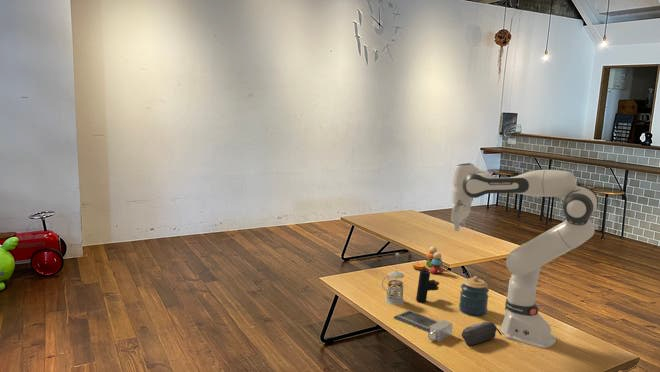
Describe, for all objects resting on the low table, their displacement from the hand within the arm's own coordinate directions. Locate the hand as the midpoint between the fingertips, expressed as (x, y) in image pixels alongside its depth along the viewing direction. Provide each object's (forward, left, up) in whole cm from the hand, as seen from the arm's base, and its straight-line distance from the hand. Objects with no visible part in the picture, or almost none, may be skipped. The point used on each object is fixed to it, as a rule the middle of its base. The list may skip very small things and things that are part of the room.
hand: (459, 228), depth 222 cm
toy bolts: (+46, -48, -43) cm, 79 cm away
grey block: (-8, +23, -42) cm, 49 cm away
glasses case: (-22, +14, -43) cm, 50 cm away
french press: (+30, +7, -42) cm, 52 cm away
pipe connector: (+20, -7, -42) cm, 47 cm away
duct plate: (+7, +18, -42) cm, 46 cm away
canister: (-3, -13, -42) cm, 44 cm away
